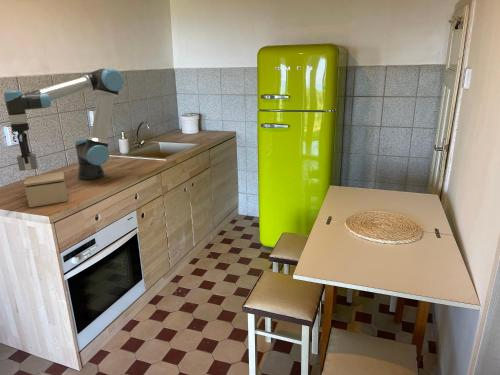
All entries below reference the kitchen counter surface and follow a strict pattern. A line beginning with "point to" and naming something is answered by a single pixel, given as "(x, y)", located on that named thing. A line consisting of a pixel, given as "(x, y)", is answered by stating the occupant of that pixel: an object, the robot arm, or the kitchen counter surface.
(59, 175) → the lid
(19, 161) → the block
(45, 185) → the box
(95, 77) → the robot arm
